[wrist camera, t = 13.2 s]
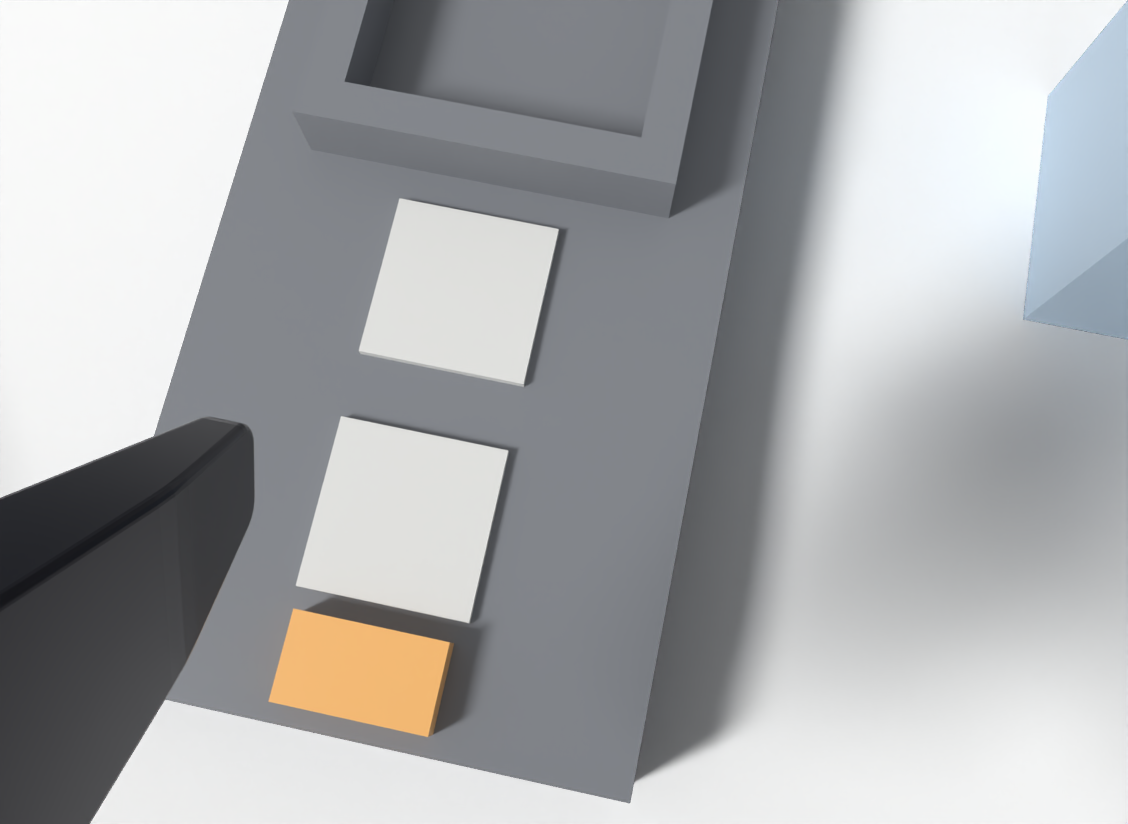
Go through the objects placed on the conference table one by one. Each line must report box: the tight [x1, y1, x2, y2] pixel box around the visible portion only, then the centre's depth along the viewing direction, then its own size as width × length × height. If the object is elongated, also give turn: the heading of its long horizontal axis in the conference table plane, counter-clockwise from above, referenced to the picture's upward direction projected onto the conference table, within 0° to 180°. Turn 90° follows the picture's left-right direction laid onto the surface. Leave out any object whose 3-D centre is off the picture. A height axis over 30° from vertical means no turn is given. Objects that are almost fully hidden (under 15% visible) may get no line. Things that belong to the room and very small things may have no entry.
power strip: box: [154, 0, 779, 803], centre depth 21 cm, size 20×10×4 cm, turn 168°
